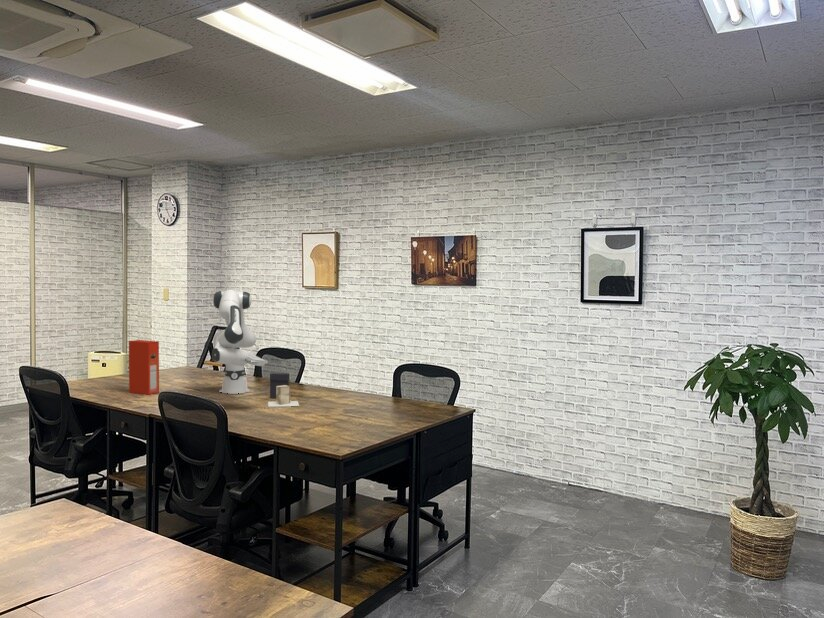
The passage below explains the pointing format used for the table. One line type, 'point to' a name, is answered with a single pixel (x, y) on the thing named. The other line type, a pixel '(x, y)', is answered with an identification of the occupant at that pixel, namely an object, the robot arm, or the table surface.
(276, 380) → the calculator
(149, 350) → the file binder
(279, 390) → the block
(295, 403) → the mat
